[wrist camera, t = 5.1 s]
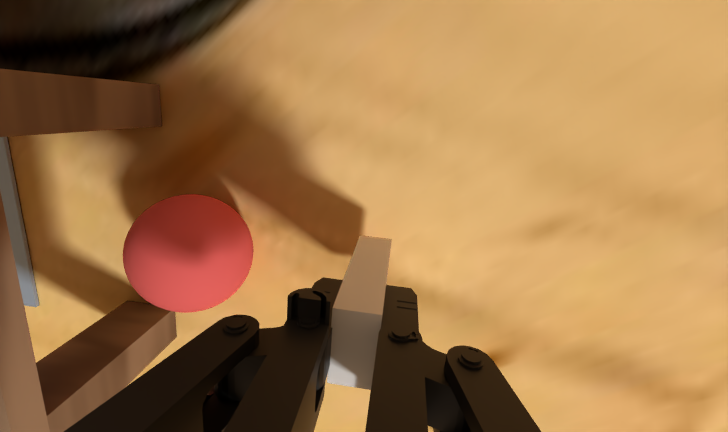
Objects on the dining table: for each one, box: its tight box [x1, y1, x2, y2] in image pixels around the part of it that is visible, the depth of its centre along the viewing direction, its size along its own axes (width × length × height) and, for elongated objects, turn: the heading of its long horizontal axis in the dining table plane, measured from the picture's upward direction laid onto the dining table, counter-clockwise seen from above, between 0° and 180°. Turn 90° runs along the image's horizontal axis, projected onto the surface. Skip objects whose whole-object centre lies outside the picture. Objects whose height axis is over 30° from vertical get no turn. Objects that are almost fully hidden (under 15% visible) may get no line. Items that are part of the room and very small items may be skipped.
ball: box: [123, 194, 253, 313], centre depth 17 cm, size 6×6×6 cm
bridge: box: [0, 69, 177, 432], centre depth 16 cm, size 3×14×9 cm, turn 175°
